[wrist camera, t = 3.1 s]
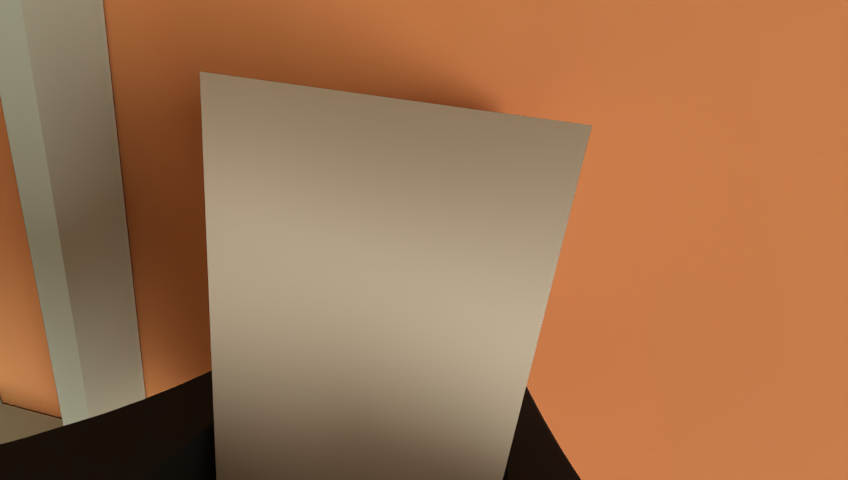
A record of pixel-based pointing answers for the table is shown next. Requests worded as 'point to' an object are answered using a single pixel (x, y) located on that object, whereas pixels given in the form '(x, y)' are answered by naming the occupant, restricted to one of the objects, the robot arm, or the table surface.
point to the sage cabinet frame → (70, 206)
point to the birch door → (375, 278)
